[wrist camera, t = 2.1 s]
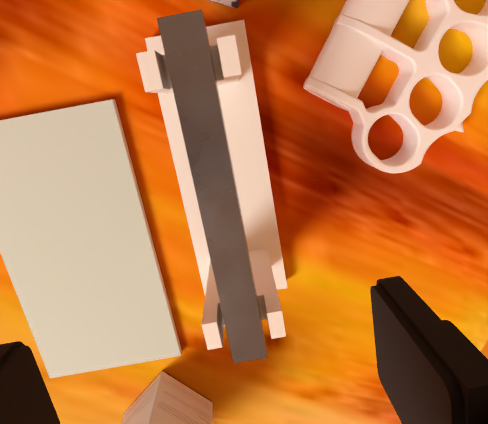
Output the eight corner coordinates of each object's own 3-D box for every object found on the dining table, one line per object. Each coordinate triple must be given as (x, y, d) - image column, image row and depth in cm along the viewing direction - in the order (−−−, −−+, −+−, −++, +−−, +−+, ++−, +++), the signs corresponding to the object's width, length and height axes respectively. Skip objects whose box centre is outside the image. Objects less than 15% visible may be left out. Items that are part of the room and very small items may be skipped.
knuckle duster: (387, -91, 30) (534, 0, 32) (283, 121, 34) (418, 189, 37) (406, -113, 27) (567, -10, 29) (288, 124, 31) (436, 197, 33)
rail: (164, 26, 22) (156, 18, 20) (204, 18, 22) (201, 9, 20) (233, 342, 29) (233, 363, 26) (264, 336, 29) (267, 357, 26)
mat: (-42, 128, 33) (-49, 129, 32) (115, 99, 33) (112, 99, 32) (53, 373, 41) (50, 378, 40) (181, 350, 40) (180, 355, 40)
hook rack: (148, 41, 32) (99, 6, 20) (243, 23, 32) (251, -23, 20) (207, 294, 39) (196, 382, 27) (285, 280, 38) (309, 363, 27)
